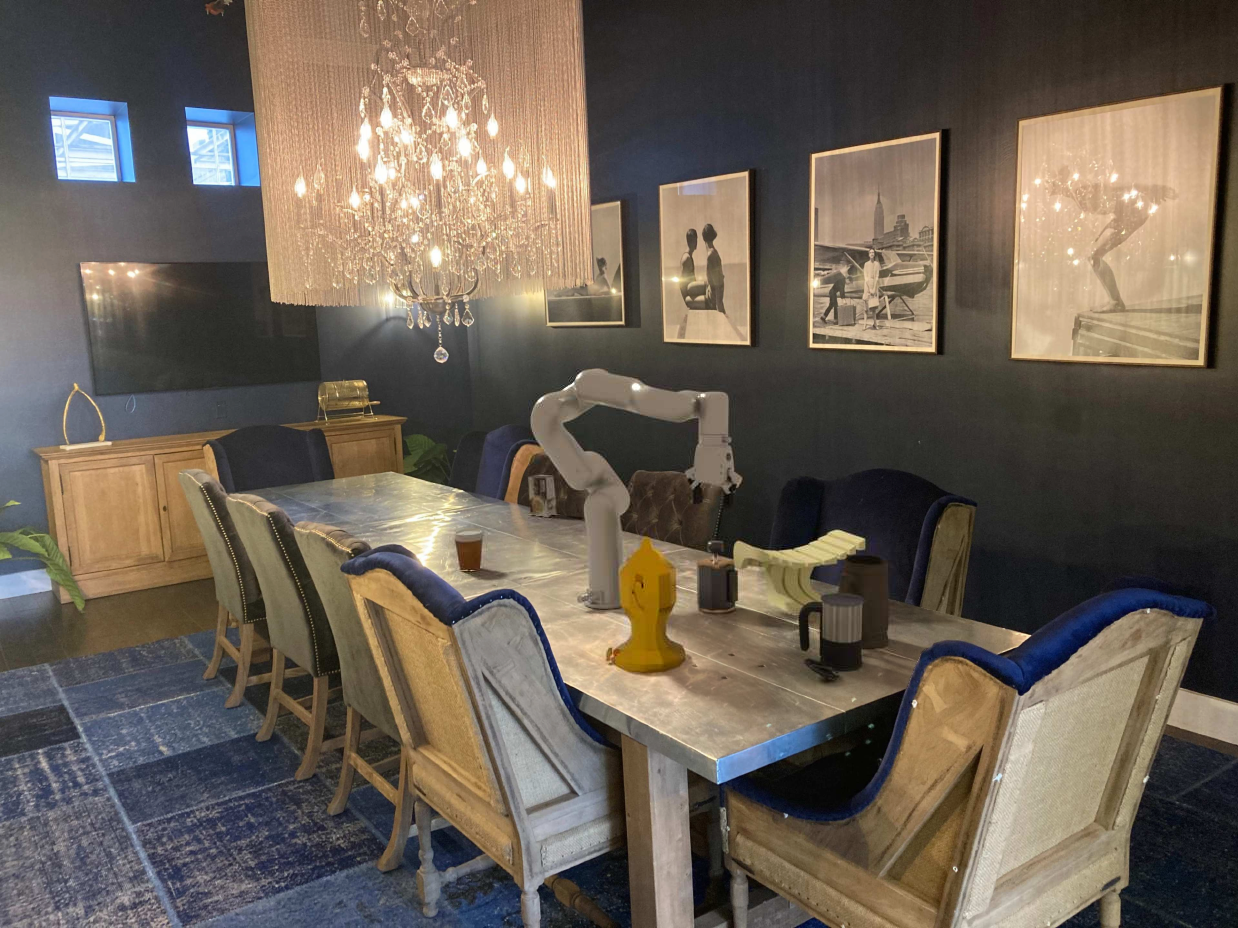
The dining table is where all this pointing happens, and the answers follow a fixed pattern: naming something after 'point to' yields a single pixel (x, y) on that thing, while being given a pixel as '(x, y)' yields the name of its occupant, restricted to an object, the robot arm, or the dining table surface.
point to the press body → (716, 586)
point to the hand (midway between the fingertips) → (712, 505)
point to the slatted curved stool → (796, 567)
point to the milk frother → (834, 633)
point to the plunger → (715, 549)
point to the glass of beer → (469, 548)
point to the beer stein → (869, 595)
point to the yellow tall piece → (647, 612)
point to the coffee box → (542, 495)
